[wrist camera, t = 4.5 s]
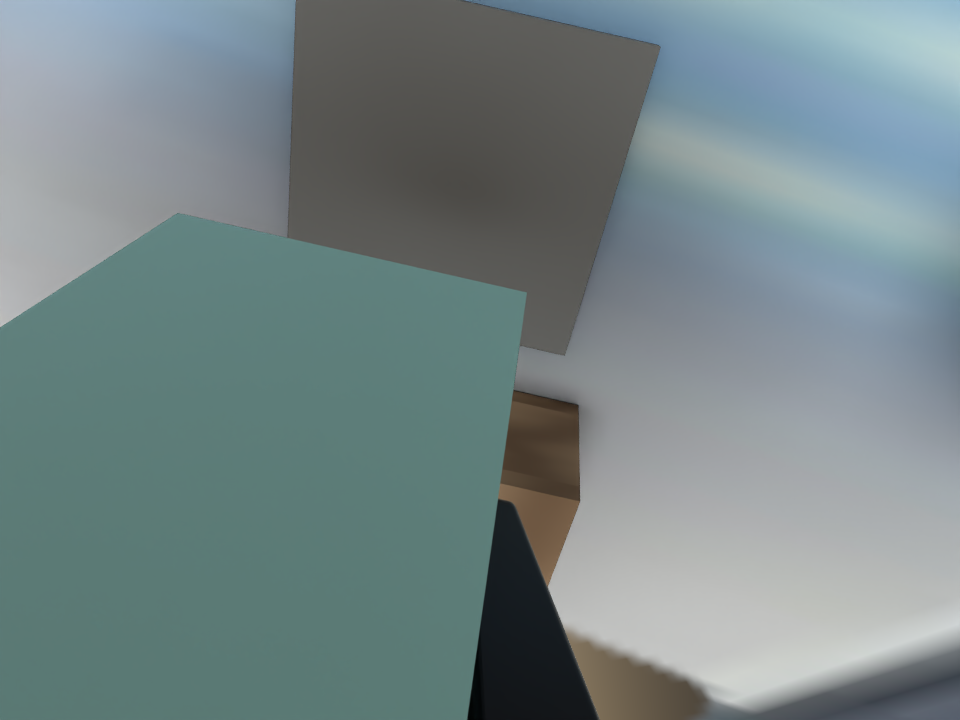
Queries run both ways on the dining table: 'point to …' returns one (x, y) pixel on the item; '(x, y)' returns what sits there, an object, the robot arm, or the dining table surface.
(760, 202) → the dining table surface
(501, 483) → the crate
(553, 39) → the mat
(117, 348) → the block
